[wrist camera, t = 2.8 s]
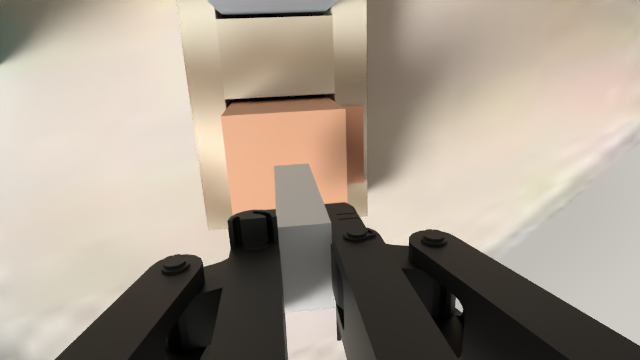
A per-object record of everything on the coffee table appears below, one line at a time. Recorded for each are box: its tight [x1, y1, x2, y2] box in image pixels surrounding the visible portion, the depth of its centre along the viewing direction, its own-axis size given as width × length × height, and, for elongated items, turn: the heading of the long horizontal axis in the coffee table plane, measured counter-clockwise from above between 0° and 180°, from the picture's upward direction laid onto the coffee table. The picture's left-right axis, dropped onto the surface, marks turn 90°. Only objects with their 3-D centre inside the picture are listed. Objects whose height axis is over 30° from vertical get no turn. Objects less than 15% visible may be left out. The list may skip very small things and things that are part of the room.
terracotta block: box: [221, 97, 348, 215], centre depth 22 cm, size 6×6×6 cm
